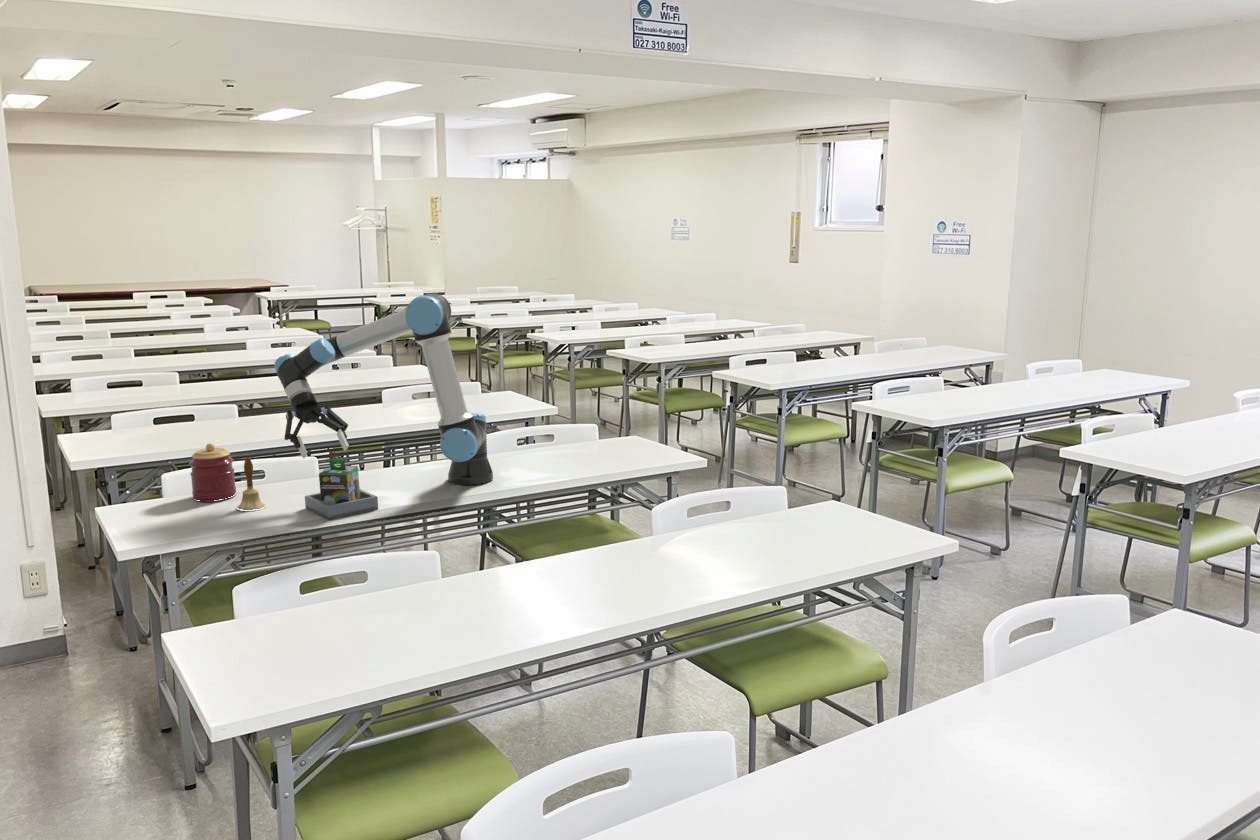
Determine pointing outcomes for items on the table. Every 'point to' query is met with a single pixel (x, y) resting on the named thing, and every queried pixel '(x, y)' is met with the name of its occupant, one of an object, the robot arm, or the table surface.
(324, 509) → the tray
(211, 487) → the canister
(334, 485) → the chalk box
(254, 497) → the hand bell
